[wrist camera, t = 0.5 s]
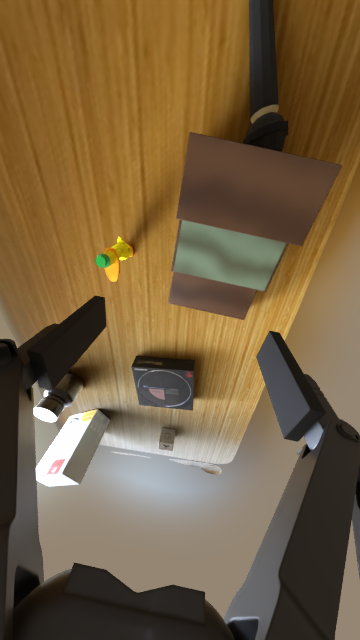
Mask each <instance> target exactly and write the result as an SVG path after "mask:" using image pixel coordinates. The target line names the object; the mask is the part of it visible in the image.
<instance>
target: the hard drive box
mask: <svg viewBox="0 0 360 640" xmlns="http://www.w3.org/2000/svg"><path fill="white" fill-rule="evenodd" d="M109 422H110V419H108V418H107V417H106V416H105V415H104V414H103V413H102V412H101V411H100V410H98V409H96V410H91V411H88V412H84V413H80V414H76V415H73V416H70V418H69V419H68V421H67V422H66V424H65V425H64V427H63V428H62V430H61V431H60V433H59V434H58V436H57V437H56V439H55V440H54V442H53V443H52V445H51V446H50V448H49V450H48V451H47V452H46V454H45V455H44V457H43V458H42V460H41V462H40V463H39V464H38V466H37V467H36V480H38V481H39V482H41V483H43V484H45V485H46V486H62V485H77V484H80V483H81V481H82V479H83V477H84V475H85V473H86V470H87V468H88V466H89V464H90V462H91V460H92V458H93V455H94V453H95V451H96V449H97V447H98V445H99V443H100V441H101V439H102V436H103V434H104V432H105V430H106V428H107V426H108V424H109Z"/></svg>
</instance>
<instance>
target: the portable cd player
mask: <svg viewBox="0 0 360 640" xmlns="http://www.w3.org/2000/svg"><path fill="white" fill-rule="evenodd" d="M194 361H195V360H184V359H169V358H155V357H140V356H136V358H135V360H134V362H133V364H132V371H133V376H134V381H135V385H136V390H137V395H138V400H139V404H140V405H144V406H154V407H165V408H175V409H185V410H193V396H194Z"/></svg>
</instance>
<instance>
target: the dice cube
mask: <svg viewBox="0 0 360 640" xmlns="http://www.w3.org/2000/svg"><path fill="white" fill-rule="evenodd" d="M174 438H175V430H173V429H167V428H162V431H161V436H160V441H159V449H163V450H170V451H173V445H174Z"/></svg>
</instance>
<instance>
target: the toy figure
mask: <svg viewBox="0 0 360 640" xmlns="http://www.w3.org/2000/svg"><path fill="white" fill-rule="evenodd" d="M133 254H134V251H133V248H132V246H129V245H128V244H127V243H125V242H123V241H122V240H121V239H120V237H119V238H118V241H117V244H116V245H114V246H112V247H111V248H106V249H105V252H104V253H102V254H99V255H98V257H96V260H95V262H96V264H97V265H98V266H100V267H102V268H105V271H106V274H107V276H108V278H109V279H110V280H111V281H113V282H116V281H117V278H118V277H119V273H120V263H119V260H121V261H122V260H125V259H127V258H129V257H133Z"/></svg>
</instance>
